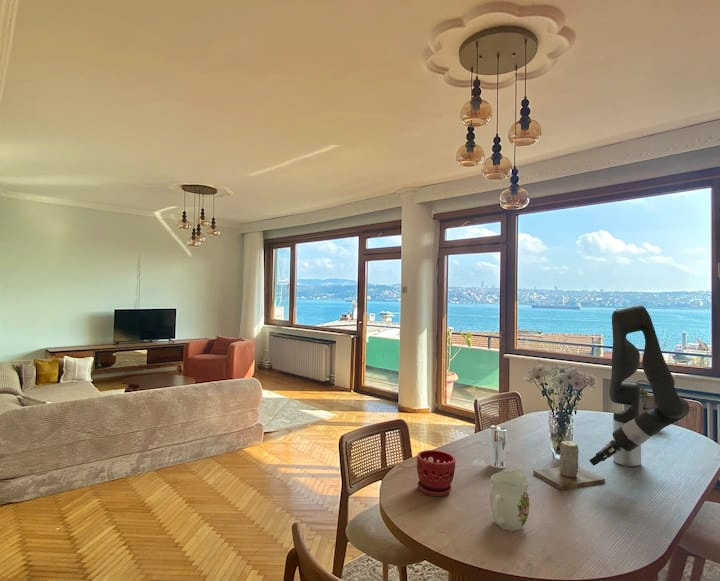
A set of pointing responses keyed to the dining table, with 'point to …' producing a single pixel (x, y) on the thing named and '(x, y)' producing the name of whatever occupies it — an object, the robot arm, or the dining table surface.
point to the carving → (569, 458)
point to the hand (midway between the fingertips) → (594, 459)
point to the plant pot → (435, 472)
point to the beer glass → (498, 446)
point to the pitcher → (509, 499)
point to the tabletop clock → (645, 400)
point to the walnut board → (568, 478)
